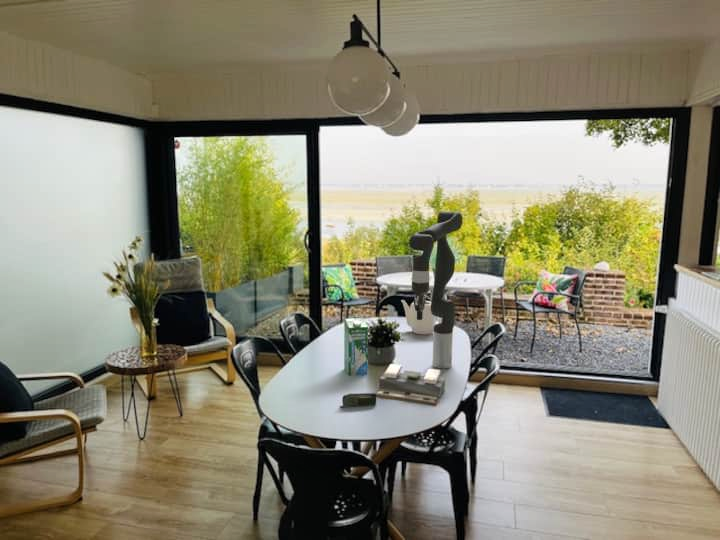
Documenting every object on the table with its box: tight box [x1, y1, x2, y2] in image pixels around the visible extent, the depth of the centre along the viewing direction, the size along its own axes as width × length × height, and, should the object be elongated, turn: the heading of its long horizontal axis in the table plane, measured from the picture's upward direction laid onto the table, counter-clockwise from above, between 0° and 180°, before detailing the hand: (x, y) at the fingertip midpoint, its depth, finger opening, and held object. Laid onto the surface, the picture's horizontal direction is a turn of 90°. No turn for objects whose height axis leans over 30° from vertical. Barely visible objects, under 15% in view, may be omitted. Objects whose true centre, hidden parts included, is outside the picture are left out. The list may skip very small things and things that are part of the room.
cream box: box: [424, 368, 441, 384], centre depth 214 cm, size 9×5×3 cm, turn 159°
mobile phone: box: [339, 392, 377, 408], centre depth 202 cm, size 5×3×15 cm
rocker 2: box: [403, 370, 422, 378], centre depth 217 cm, size 9×5×2 cm, turn 159°
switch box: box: [375, 372, 446, 406], centre depth 215 cm, size 16×26×6 cm, turn 69°
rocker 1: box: [383, 363, 403, 378], centre depth 220 cm, size 9×5×2 cm, turn 159°
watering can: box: [400, 299, 442, 336], centre depth 309 cm, size 16×27×19 cm, turn 62°
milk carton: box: [343, 317, 369, 377], centre depth 239 cm, size 9×9×25 cm
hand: (419, 319), depth 223 cm, fingers closed
